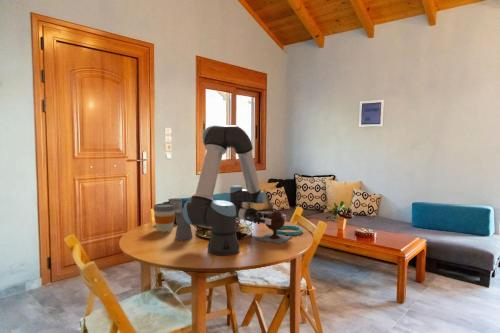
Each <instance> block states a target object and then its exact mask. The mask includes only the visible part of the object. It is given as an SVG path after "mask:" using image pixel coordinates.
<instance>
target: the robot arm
mask: <svg viewBox="0 0 500 333" xmlns="http://www.w3.org/2000/svg"><path fill="white" fill-rule="evenodd" d="M202 139H203V140H202V143H203V146H204V149H205V150H206V152H205V156H204V160H203V164H202V167H201V170H200V174H199V179H198V183H197V188H196V191H195V193H194V194H193V195H191V196H190V200H188V201H186V202H185V203H184V207H182V209H183V217H184V219H185V221H186V222H187V223H188V224H190V226H194V227H197V226H199V227H204V228H210V230H211V233H210V238H209V240H208V244H207V252H208V253H209V254H211V255H214V256H231V255H235V254H238V253H239V252H240V244H239V240H238V237H237V232H236V231H237V220H242V221H243V222H245V221H246V222H251V223H253V224H257V225H260V224H263V225H264V224H265V225H266V224H268V225H271V219H266V217H267V215H268V214H269V213H272V211H271V212H269V211H257V209H256V208H253V207H252V208H251V207H247V206H243V203H244V204H245V203H246V204H248V203H249V204H256V205H263V204H265V203H266V201H267V193H266V192H265V191H264V190H261V187H260V181H259V178H258V174H257V169H256V164H255V162H254V161H255V159H254V156H253V148H254V147H253V144H252V141H251V138H250V136H249V135H248V134H247V132H246V131H245V130H244V129H243V128H241V127H240V126H238V125H235V124H233V125H232V124H231V125H210V126H208V127H207V128H206V129H205V130H204V131H203V134H202ZM229 148H231V149H232V148H233V149H234V152H235V154H236V155H237V157H238V161H239V164H240V167H241V168H240V169H241V172H242V175H243V179H244V183H245V187H246V189H244V187H243V186H242V185H240V184H239V185H238V184H237V185H236V184H235V185H231V186H230V187H229V200H228V201H227V200H221V199H220V200H219V199H217V200H214V199H213V198H214V197H213V196H214V192H215V188H216V183H217V179H218V175H219V170H220V168H221V162H222V158H223V155H225V154H226V153H227V151H228V149H229ZM282 217H283V219H284V220H285V221H287V215H285V214H282Z"/></svg>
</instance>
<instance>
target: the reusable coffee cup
mask: <svg viewBox="0 0 500 333" xmlns="http://www.w3.org/2000/svg"><path fill="white" fill-rule="evenodd" d="M175 210H176V207H175V204H172V203H164V202H162V203H157V204H154V205H153V212H154V216H153V217H154V224H155V226H156V231H157V232H158V231H164V232H163V233H167V232H166V231H170V232H172V231H174V224H173V223H174V221H175V214H174V213H175ZM171 230H172V231H171Z"/></svg>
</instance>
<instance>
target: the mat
mask: <svg viewBox="0 0 500 333" xmlns="http://www.w3.org/2000/svg"><path fill="white" fill-rule="evenodd" d="M271 235H273V232H272V233H271V232H267V233H266V234H264V235H263V236H260V237H258V238H256V240H257V241H261V242H267V243H271V244H279V245H282V244H284V243H285V242H288V241H289V240H290V239H292V238H293V236H286V235H279V234H276V235H278V236H279V237H280V238H279V239H271V238H270V236H271Z"/></svg>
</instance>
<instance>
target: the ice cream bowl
mask: <svg viewBox="0 0 500 333" xmlns="http://www.w3.org/2000/svg"><path fill="white" fill-rule="evenodd" d="M282 215H283V214H282V212H281V211H280V210H279V209H278V210H273V211H271V213H269V214H268V215H267V217H266V219H271V225H268V224H265V226H266V227H267V228H268V229H269V230H271V231H272V234H273V235H271V236H270V238H271V239H279V238H280V237H279V236H278V235H276V231H277V230H279V231H280V230H282V229H281V228H282V227H283V226H284V225H285V222H286V220H284V219H283V217H282Z"/></svg>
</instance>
